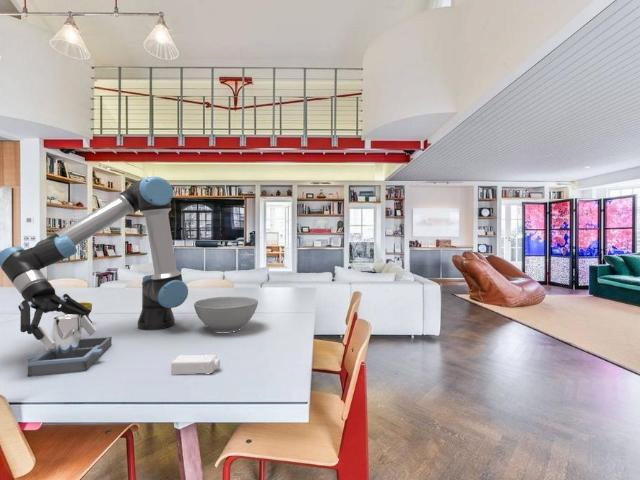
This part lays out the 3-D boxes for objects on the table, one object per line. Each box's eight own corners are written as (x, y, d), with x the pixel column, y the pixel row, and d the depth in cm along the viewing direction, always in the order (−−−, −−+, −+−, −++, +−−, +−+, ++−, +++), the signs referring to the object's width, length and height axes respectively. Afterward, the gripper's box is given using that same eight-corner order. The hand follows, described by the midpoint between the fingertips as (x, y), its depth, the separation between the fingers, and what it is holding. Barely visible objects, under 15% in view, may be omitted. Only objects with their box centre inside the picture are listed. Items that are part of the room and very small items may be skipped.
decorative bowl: (269, 325, 149) (269, 299, 149) (230, 342, 125) (231, 310, 125) (223, 319, 160) (223, 294, 160) (179, 333, 136) (179, 304, 136)
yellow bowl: (96, 325, 147) (96, 303, 147) (68, 330, 138) (69, 307, 138) (85, 322, 152) (85, 301, 152) (58, 327, 144) (58, 304, 144)
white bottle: (216, 376, 94) (216, 361, 94) (170, 376, 94) (171, 361, 94) (221, 367, 101) (222, 353, 101) (179, 367, 100) (179, 353, 100)
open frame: (117, 344, 121) (117, 334, 121) (93, 370, 97) (93, 357, 97) (59, 348, 115) (59, 338, 115) (18, 377, 91) (18, 363, 91)
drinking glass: (49, 371, 96) (50, 320, 96) (55, 363, 102) (56, 315, 102) (78, 367, 99) (79, 317, 99) (83, 359, 105) (83, 313, 105)
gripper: (66, 290, 116) (101, 335, 113) (-20, 303, 91) (21, 361, 88) (79, 275, 115) (114, 321, 111) (-6, 285, 90) (37, 343, 87)
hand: (73, 339), depth 100 cm, fingers open, 13 cm apart
